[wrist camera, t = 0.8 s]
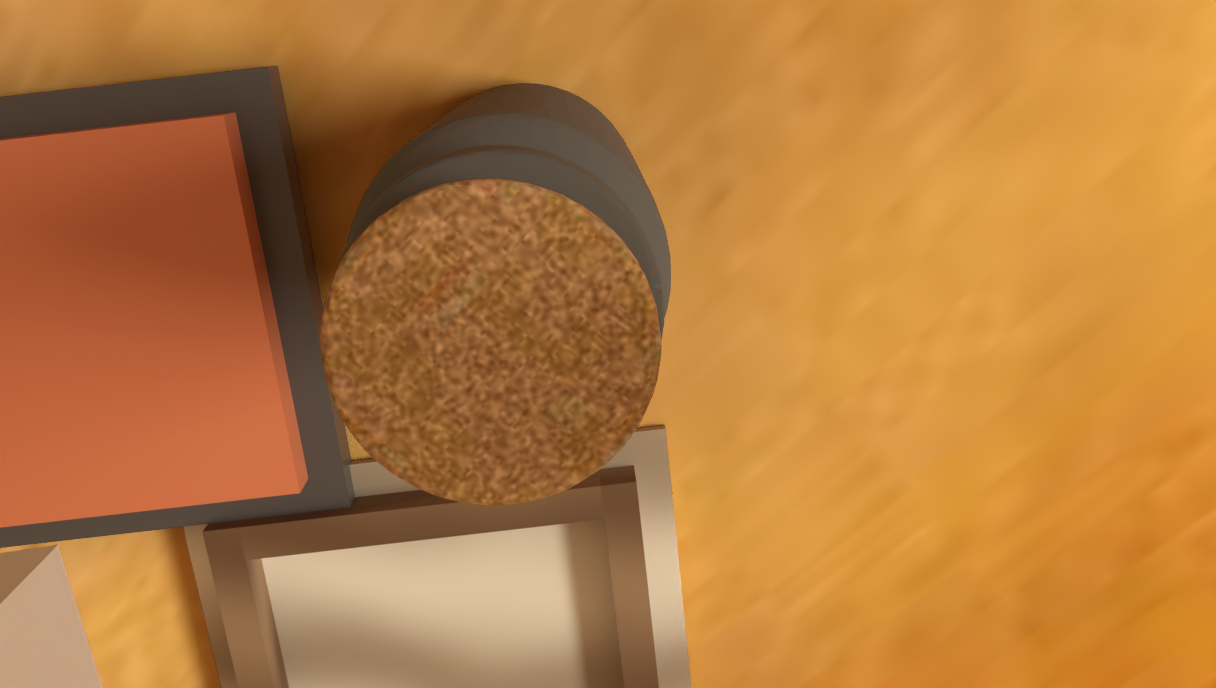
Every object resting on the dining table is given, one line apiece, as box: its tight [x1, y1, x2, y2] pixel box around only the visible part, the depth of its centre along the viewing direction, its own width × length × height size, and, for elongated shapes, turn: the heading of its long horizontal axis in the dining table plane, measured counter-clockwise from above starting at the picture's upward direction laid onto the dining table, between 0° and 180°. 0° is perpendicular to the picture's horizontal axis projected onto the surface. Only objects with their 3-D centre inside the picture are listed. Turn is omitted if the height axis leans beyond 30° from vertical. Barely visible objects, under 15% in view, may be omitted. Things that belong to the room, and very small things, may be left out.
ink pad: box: [0, 66, 355, 548], centre depth 29 cm, size 12×12×2 cm
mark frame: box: [183, 425, 691, 688], centre depth 33 cm, size 14×14×2 cm
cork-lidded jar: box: [320, 84, 671, 506], centre depth 22 cm, size 6×6×15 cm
